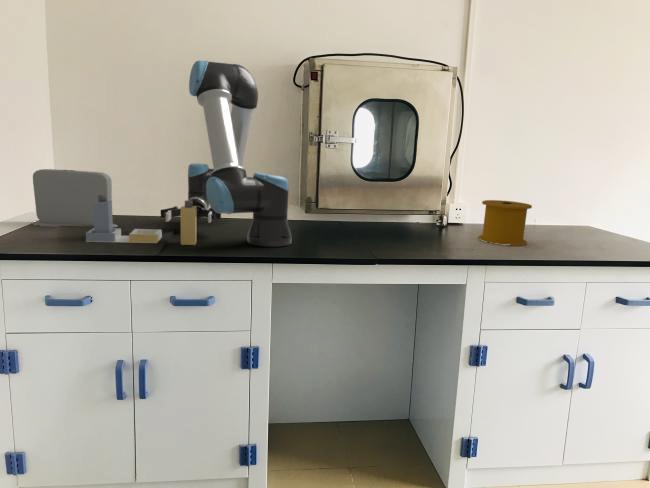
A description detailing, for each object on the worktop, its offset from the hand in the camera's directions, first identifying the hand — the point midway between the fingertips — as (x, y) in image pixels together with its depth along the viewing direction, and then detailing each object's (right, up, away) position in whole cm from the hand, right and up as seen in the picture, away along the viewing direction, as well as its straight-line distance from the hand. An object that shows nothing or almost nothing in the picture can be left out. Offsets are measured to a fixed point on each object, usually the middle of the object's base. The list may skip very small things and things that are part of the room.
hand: (188, 218), depth 173 cm
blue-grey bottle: (-26, -7, -5) cm, 27 cm away
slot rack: (-19, -8, -3) cm, 21 cm away
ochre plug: (0, -8, -1) cm, 8 cm away
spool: (+114, -8, +30) cm, 118 cm away
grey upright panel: (-46, -2, +18) cm, 50 cm away
